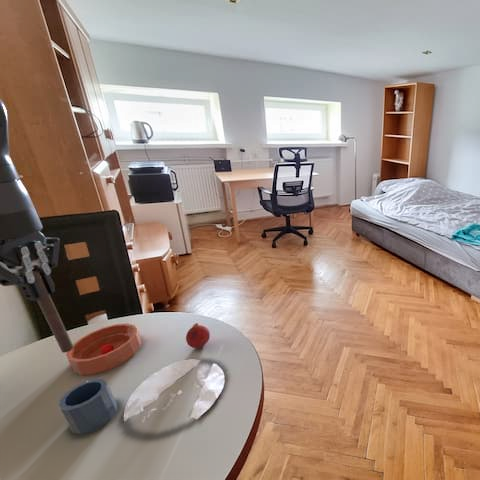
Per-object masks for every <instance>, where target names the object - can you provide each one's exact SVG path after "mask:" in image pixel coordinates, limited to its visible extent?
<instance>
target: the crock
mask: <svg viewBox="0 0 480 480" xmlns="http://www.w3.org/2000/svg"><path fill="white" fill-rule="evenodd" d="M57 406H58V408H59V410H60V412H61V414H62V416H63V418H64V419H65V421H66V423H67V424H68V426H69V428H70V430H71V431H72V433H73V434H76V435H83V434H89V433H90V432H94V431H95V430H97V429H99V428H101V427H102V426H104V425H105V424H107V423H108V422H109V421H110V420H111V419H113V417H114V415H115V414H116V412H117V411H118V410H117V409H118V403H117V401H116V399H115V397H114V395H113V393H112V390H111V388H110V386H109V384H108V382H107V381H106V380H105V379H104V378H93V379H89V380H86V381H84V382H81V383H79V384H76V385H75V386H74V387H73V388H71V389H69V390H68V391H67V392H65V393H64V395H62V397H61V398H60V399H59V401H58V405H57Z"/></svg>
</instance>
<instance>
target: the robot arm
mask: <svg viewBox="0 0 480 480" xmlns="http://www.w3.org/2000/svg"><path fill="white" fill-rule="evenodd" d="M10 154H11V153H10V137H9V118H8V112H7V109H6V106H5V103H4V102H3V100H2V99H1V98H0V286H3V287H10V286H11V287H12V286H18V287H19V289H20V291H21V293H22V295H23V297H24V299H25V300H27V301H31V302H34V301H36V302H38V301H37V300H41V299H43V298H44V295H43V293H42V291H41V289H40V287H39V285H38V282H37V281H35V278H34V275H33V273H32V271H39V273H40V275H41V277H42V279H43V281H44V284H45V286H46V288H47V290H48V292H49V294H50V295H51V294H53V293H54V292H55V291H56V289H55V288H56V286H55V282H54V281H53V278H52V276H51V273H52V270H53V268H57V267H58V266H59V255H60V246H61V239H60V238H59V237H46V236H45V235H44V234H43V233H42V232H41V231H42V230H43V228H44V227H43V224H42V221H41V220H40V217H39V215H38V212H37V210H36V208H35V205H34V203H33V201H32V199H31V196H30V194H29V192H28V190H27V188H26V187H25V185H24V184H23V182H22V180H21V178H20V175H19V173H18V171H17V168H16V166H15V164H14V162H13V160H12V158H11V155H10ZM48 257H49V258H48Z"/></svg>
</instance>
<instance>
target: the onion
mask: <svg viewBox="0 0 480 480" xmlns="http://www.w3.org/2000/svg"><path fill="white" fill-rule="evenodd" d="M185 335H186V336H185V341H186V343H187V345H188V346H189V347H190V348H192V349H200V348H202V347H204V346H205V345H206V344H207V343H208V342H209V340H210V336H211V332H210V330H209V328H207V327H206V326H204V325H201V324H199V323H198V322H195V323H193V325H192V327H190V328H189V330H188V331H187V333H186V334H185Z"/></svg>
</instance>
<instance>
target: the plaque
mask: <svg viewBox="0 0 480 480" xmlns="http://www.w3.org/2000/svg"><path fill="white" fill-rule="evenodd" d="M200 362H202V361H201V359H194V358H191V359H190V358H189V359H184V360H179V361H176V362H173V363H171V364H168V365H166V366H164V367H162V368H160V369H158V370H157V371H155V372H154V373H152V374H151V375H149V376H148V377H147V378H146V379H144V380H143V381H142V382H141V383H140V384H139V385H138V386H137V388H136V389H135V390H134V391H133V392H132V394H131V395H130V396H129V398H128V400H127V403H126V405H125V407H124V412H123V422H126V421H127V420H128V419H130V418H133V416H138V415H139V414H140V413H142V412H144V411H145V410H144V408H145V407H148V406H149V405H151V404H152V403H154V402H155V401H156V400H158V399H159V397H160V395H161V394H162V392H163V391H165V390H166V389H168V388H169V387H172V386H173V385H174V383H176V381H177V380H178V379H180V378H181V377H183V376H186V374H187V373H188V372H190V371H191V370H192V369H194V368H195V367H197V366H198V364H199V363H200ZM209 368H210V369H209ZM207 372H208V373H207ZM205 373H207V376H206V374H205ZM195 378H196V379H197V381H198V384H199V385H197V384H196V382H194V384H193V386H194V387H193V388H192V390H193V391H196V389H198V388H200V387H201V389H200V390H199V393H198V395H197V397H196V399H195V400H194V401H195V402H194V403H193V405H192V407H191V410H190V412H189V414H188V416H187V418H189V419H190V418H193V419H195V420H199V419H200V418H201V417H202V415H204V414H205V413H206V412H207V411H208V410H209V409H210V408H211V407H212V406H213V405H214V404H215V402H216V400H217V399H218V398H219V396H220V395H221V394H222V391H223V389H224V386H225V383H226V381H225V378H226V377H225V373H224V371H223V369H222V368H221V367H220V366H219V365H218V364H217V363H214V362H213V363H212V365H211V367H209V364H208V363H207V364H206V365H203V366H201V367H200V368H198V369H197V370H196V376H195ZM195 388H196V389H195ZM181 394H182V389H179V390H178V391H177V393H173V392H171V393H170V394H169V398H170V400H169V401H168V403H167V404H166V407H165V406H164V407H163V408H162V410H163V411H165V410H166V409H167V408H168V407H169V406H171V404H172V402H174V400H175V398H176V396H177V395H179V396H180V395H181ZM187 406H190V404H187ZM157 409H158V408H157V407H156V408H151V409H150V411H147V415H146V416H145V415H144V416H142V420H141V422H143V423H144V422H146V418H149V416H150V415H151V414H153V412H154V411H155V412H156V411H157Z"/></svg>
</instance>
